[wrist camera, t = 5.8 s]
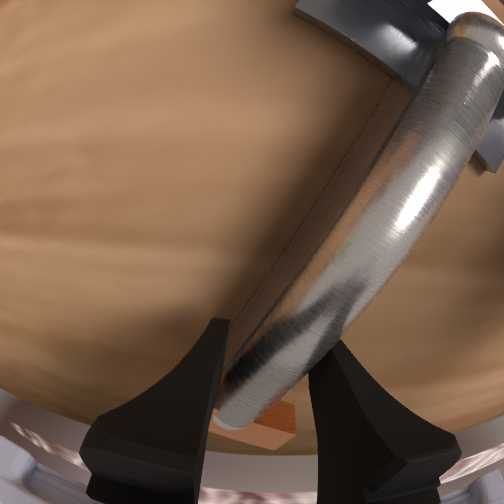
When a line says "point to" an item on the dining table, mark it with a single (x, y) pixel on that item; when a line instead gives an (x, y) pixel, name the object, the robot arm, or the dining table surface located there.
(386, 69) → the grey hammer
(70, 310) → the dining table surface
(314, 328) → the metal rod with plate
